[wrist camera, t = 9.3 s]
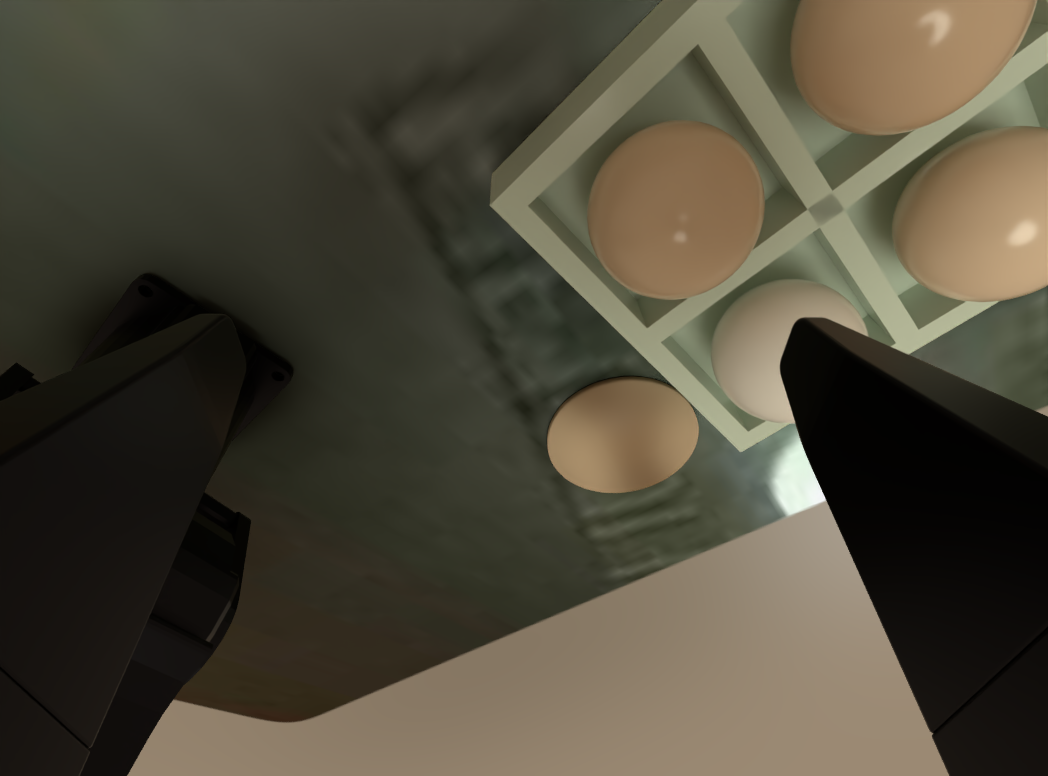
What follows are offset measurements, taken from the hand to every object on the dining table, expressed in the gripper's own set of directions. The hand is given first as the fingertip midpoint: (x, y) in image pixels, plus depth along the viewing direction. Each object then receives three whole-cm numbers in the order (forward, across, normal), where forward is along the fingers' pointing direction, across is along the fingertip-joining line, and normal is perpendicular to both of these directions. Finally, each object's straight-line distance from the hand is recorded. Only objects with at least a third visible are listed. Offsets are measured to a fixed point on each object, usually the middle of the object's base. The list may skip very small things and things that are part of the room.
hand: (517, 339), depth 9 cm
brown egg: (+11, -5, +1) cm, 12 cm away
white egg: (+11, -10, +6) cm, 16 cm away
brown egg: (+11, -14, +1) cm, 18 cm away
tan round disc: (+12, -5, +13) cm, 19 cm away
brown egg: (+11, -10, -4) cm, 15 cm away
